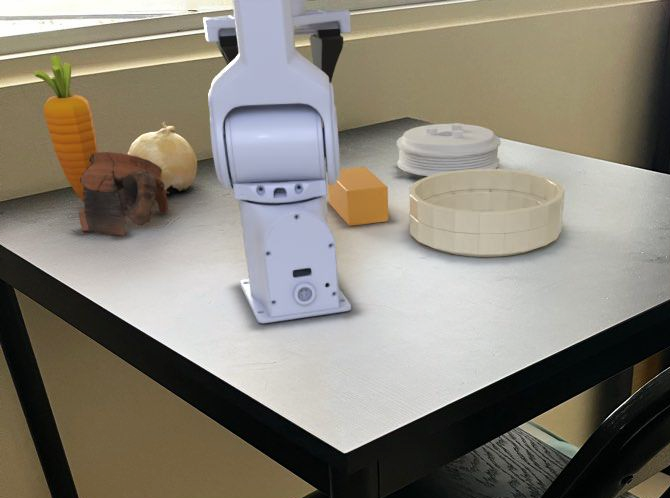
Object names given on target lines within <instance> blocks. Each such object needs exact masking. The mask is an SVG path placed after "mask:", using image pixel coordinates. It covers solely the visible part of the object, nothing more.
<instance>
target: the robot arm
mask: <svg viewBox="0 0 670 498" xmlns="http://www.w3.org/2000/svg"><path fill="white" fill-rule="evenodd" d="M231 1H232V9H233V14H230V15H220V16H209V17H207V16H206V17H203V18H202V20H203V21H202V22H203V28H204V34H205V35H204V36H205V40H206V41H207V42H208V43H216V46H217V48H218V50H219V52H220V54H221V57H222V58H223V59H224V62H225V63H226V66H225V67H224V68H223V69H222V70H221V71H220V72H219V73H218V74H217V75H215V77H214V78H213V80H212V81H211V84H210V89H209V91H208V97H207V98H208V99H207V102H208V103H207V104H208V111H209V112H208V113H209V129H210V131H209V132H210V141H211V143H210V144H211V151H212V158H213V163H214V169H215V173H216V174H215V175H216V178H217V181H218V182H219V183H220V184H221V185H222V186H223V187H224V189H226V190H233V195H234V196H233V197H234V200H235V201H238V207H239V214H240V215H239V216H240V223H241V229H242V237H243V245H244V253H245V260H246V267H247V274H248V278H243V279H241V280H240V281H239V286H240V289H241V290H242V292H243V294H244V297H245V299H246V300H247V303H248V305H249V307H250V309H251V311H252V313H253V315H254V317H255V319H256V321H257V322H258V323H259V324H268V323H276V322H284V321H289V320H290V321H291V320H296V319H297V320H298V319H301V318H302V319H303V318H309V317H316V316H323V315H330V314H337V313H344V312H349V311H351V310H352V304H351V303H350V301H349V300H348V298H347V297H346V296H345V294H344V293H343V292H342V291H341V289H340V287H339V277H338V276H339V275H338V263H337V262H338V260H337V247H336V246H337V245H336V238H335V235H334V233H333V230H332V228H331V227H330V225H329V217H328V216H329V215H328V203H327V202H328V201H327V196H328V189H327V188H328V186H327V185H328V184H329V185H334V184H335V183H336V181H337V180H338V179H339V177H340V169H341V160H340V145H339V142H340V141H339V128H338V127H339V126H338V117H337V116H338V114H337V106H336V104H335V92H334V85H333V83H332V81H333V76H334V72H335V71H336V66H337V63H338V60H339V58H340V55H341V53H342V51H343V48H344V36H342V35H341V34H350V33H351V32H352V28H351V27H352V26H351V10H348V9H346V8H337V9H306V0H231ZM295 27H298V28H295ZM305 35H310V36H309V44H310V49H311V50H310V51H311V57H312V62H311V61H310V60H309V59H307V58H306V56H304V55H302V54H301V53H300V52H299V51H298V50H297V49H296V40H295V39H296V38H295V36H305ZM327 172H328V176H326V175H327Z"/></svg>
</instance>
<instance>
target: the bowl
mask: <svg viewBox="0 0 670 498" xmlns="http://www.w3.org/2000/svg"><path fill="white" fill-rule="evenodd" d="M408 188H409V234H410V235H411V237H413V238H414V239H415V240H416V241H417V242H418V243H421V244H423V245H425V246H427V247H430V248H432V249H434V250H436V251H439V252H443V253H447V254H451V255H456V256H463V257H475V258H498V257H507V256H508V257H509V256H514V255H515V256H516V255H520V254H525V253H528V252H532V251H534V250H537V249H539V248H542V247H545V246H548V245H549V244H551V243H552V242H554V241H556V240H557V239H558V238H559V236H560V234H561V232H562V228H563V227H562V226H563V215H564V205H565V195H566V194H565V193H566V191H565V189H564V188H563V185H562V184H561V183H559V182H558V181H556V180H555V179H552V178H550V177H548V176H544V175H541V174H538V173H534V172H529V171H523V170H517V169H505V168H504V169H503V168H502V169H501V168H495V169H466V170H457V171H449V172H444V173H439V174H435V175H431V176H424V177H423V178H420V179H419V180H416V181H415V182H414V183H413V184H412V185H411V186H410V187H408Z"/></svg>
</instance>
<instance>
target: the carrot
mask: <svg viewBox="0 0 670 498" xmlns="http://www.w3.org/2000/svg"><path fill="white" fill-rule="evenodd" d="M50 60H51V61H50V62H51V63H52V67H51V69H52V71H51V72H52V74H53V76H52V77H50V76H49V75H48V74H47V73H45V72H43V71H41V70H38V69H36V70H35V71H34V77H36V78H38V79H40V80H43V81H44V83H46V84H47V85H48V86H49V87H50V88H51V89H52V90H53V92H54V94H55V95H54V96H51V97H49V98H48V99H47V100H46V102H45V103H44V105H43V114H44V118H45V122H46V125H47V129H48V132H49V136H50V139H51V143H52V146H53V149H54V152H55V155H56V157H57V159H58V162H59V164H60V167H61V169H62V171H63V173H64V175H65V178H66V180H67V182H68V183H69V184H70V186H71V188H72V189H73V191H74V192H75V194H76V195H77V196H78V197H79V198H80V200H81V201H82V202H83V203H84V200H83V199H84V196H83V188H84V187H83V186H82V184H81V183H80V178H81V177H82V174H83V173H84V172H85V170H86V168H87V167H89V166H90V165H91V162H90V161H89V159H90V157H91V155H92V154H95V153H98V152H99V151H98V149H99V148H98V141H97V134H96V128H95V123H94V118H93V112H92V109H91V105H90V102H89V100H88V99H87V98H85V97H84V96H82V95H80V94H79V95H78V94H72V93H71V90H70V86H71V80H72V65H70V63H69V62H64V63H63V62H62V59H61V57H59V56H58V55H52V56H50Z"/></svg>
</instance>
